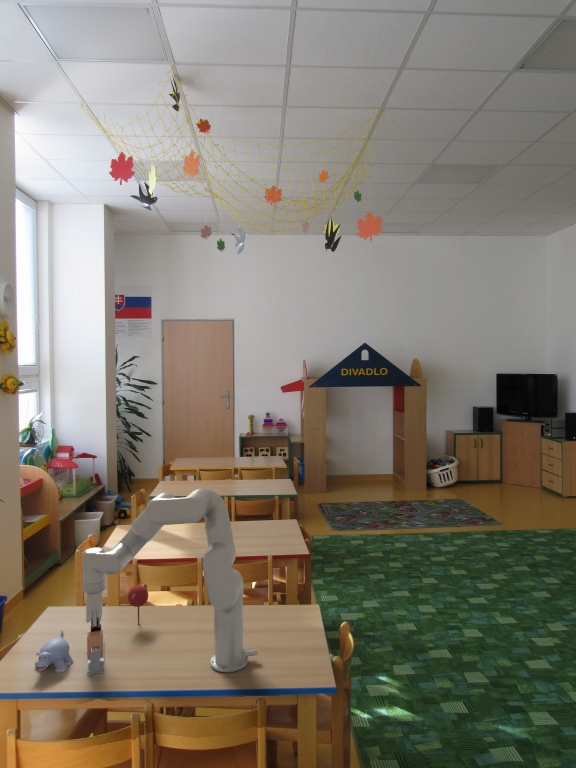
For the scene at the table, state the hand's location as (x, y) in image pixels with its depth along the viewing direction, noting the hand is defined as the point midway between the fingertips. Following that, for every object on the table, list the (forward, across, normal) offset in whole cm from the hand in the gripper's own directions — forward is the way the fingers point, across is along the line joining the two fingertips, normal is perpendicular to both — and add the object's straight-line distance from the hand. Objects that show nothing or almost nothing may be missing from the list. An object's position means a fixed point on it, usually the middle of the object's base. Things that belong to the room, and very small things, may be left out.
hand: (95, 637), depth 202 cm
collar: (+4, +4, 0) cm, 6 cm away
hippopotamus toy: (+8, +2, -14) cm, 16 cm away
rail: (+7, -1, 0) cm, 7 cm away
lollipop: (+7, -22, +15) cm, 28 cm away
